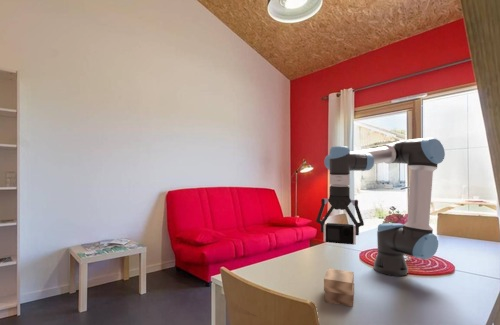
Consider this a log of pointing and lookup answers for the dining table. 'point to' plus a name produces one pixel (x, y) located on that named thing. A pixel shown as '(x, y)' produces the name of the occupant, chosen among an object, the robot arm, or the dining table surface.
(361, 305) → the dining table surface
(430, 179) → the robot arm
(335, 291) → the tower top
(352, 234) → the digital camera
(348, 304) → the tower base
